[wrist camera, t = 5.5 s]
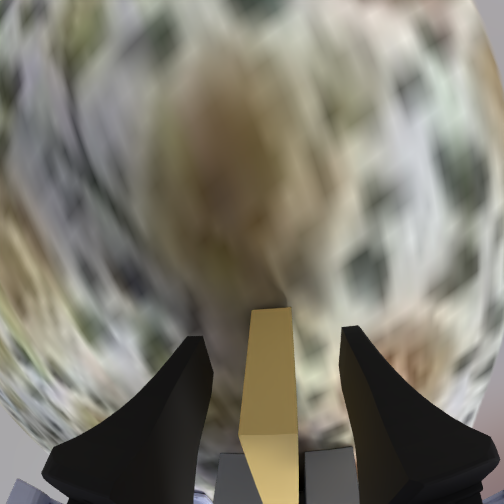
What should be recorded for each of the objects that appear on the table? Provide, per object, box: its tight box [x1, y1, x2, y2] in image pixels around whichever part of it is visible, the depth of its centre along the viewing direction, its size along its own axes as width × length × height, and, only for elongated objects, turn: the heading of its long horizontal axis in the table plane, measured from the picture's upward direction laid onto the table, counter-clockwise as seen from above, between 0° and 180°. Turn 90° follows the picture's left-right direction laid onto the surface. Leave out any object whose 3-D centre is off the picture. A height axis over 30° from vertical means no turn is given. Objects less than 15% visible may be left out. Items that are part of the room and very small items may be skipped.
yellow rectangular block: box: [238, 307, 299, 504], centre depth 11 cm, size 2×10×6 cm, turn 7°
